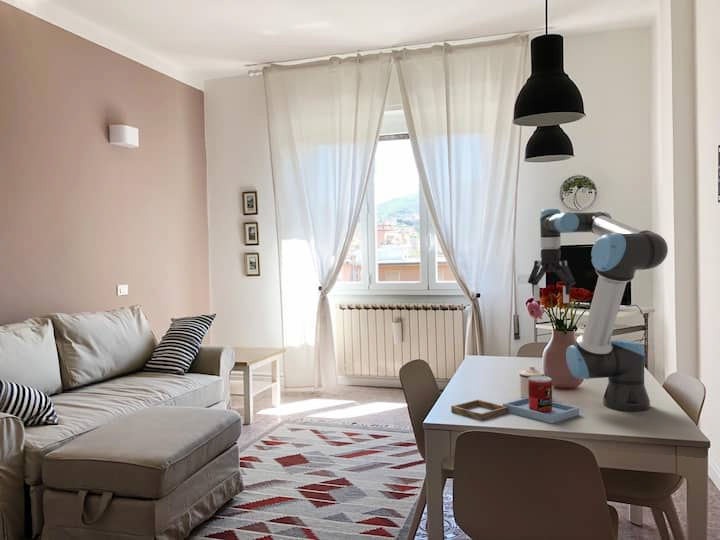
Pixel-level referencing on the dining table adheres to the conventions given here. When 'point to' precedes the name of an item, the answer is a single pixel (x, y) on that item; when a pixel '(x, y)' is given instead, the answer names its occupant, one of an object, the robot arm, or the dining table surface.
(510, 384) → the dining table surface
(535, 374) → the teacup with lid
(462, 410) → the frame
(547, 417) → the slate-blue tray
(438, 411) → the dining table surface
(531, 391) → the canned food
